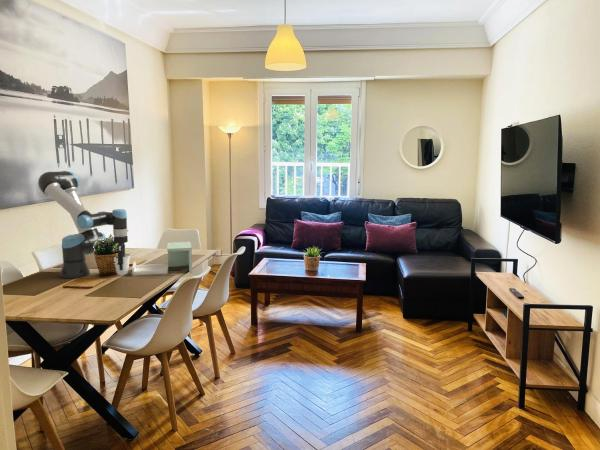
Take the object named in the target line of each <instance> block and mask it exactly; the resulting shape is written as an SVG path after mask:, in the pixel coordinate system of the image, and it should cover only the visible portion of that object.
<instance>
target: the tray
mask: <svg viewBox="0 0 600 450" xmlns="http://www.w3.org/2000/svg"><path fill="white" fill-rule="evenodd" d="M132 263H133V264H132V266H131V276H132V277H138V276H155V275H168V274H169V267H168V262H167V263H152V264H147V263H146V264H137V260H134V261H133V262H132Z"/></svg>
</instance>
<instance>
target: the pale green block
mask: <svg viewBox="0 0 600 450" xmlns="http://www.w3.org/2000/svg"><path fill="white" fill-rule="evenodd" d="M166 245H167V246H166V249H167V263H168V268H171V267H172V268H173V267H188V272H189V273H190V274H193V251H192V250H193V249H192V243H191V241H175V242H174V241H173V242H167V244H166Z"/></svg>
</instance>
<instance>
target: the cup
mask: <svg viewBox="0 0 600 450" xmlns="http://www.w3.org/2000/svg"><path fill="white" fill-rule="evenodd" d="M130 261H131V254H129V253H128V254H127V253H125V257H123V264H124V275H127V274H129V268H130ZM113 262H115V263H114V267H115V271H116V274H117V275H118V276H120V275H119V265H117V263H118V258H116V257H114V259H113Z"/></svg>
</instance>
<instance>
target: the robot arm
mask: <svg viewBox="0 0 600 450" xmlns="http://www.w3.org/2000/svg"><path fill="white" fill-rule="evenodd" d="M79 181H80V180H79V178H78V176H77V175H76V173H74V172H72V171H70V170H69V171H67V170H61V171H60V170H59V171H47V172H46V171H45V172H43V173H42V174H41V175H40V176H39V178H38V182H37V184H38V185H37V186H38V188H39V189H40V191H41V193H42V194H44V195H45V196H46V197H50V198H51V199H53V201H55V202H56V203H57V204H58V205H59V206H61V207H62V208H63V209H64V210H65V211H66V212H67V213H69V215H70V217H71V219H72V220H73V221H72V222H73V223H74V225H75V227H76V229H77V232H78V233H74V234H68V235H66V236H64V237H63V238H62V240H61V251H62V267H61V269H60V277H61V278H63V279H79V278H84V277H86V276H89V275H90V269H89V266H88V263H87V262H86V261H87V260H86V256H87V255H92V254H94V253H93V250H94V248H93V245H94V243H95V242H96V241H97V240H98V239H105V238H106V239H107V237H106V234H104V233H103V232H100V231H99V230H98V228H97V227H102V226H112V232H113V233H112V235H113V243H114V244H117V246H116V248H117V255H118V263H117V265H119V275H118V276H125V274H124V264H123V257H125V254H126V244H125V243H128V241H129V240H128V232H129V230H128V225H127V224H128V223H127V222H128V219H127V217H128V216H127V210H126V209H124V208H120V209H119V208H118V209H117V208H116V209H112V212H109V211H98V212H96V213H91V212H89V210H88V209H86V208H85V207H84V204H83V202H82V200H81V199H80V196H79V194H78V190H79V185H80V182H79Z"/></svg>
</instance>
